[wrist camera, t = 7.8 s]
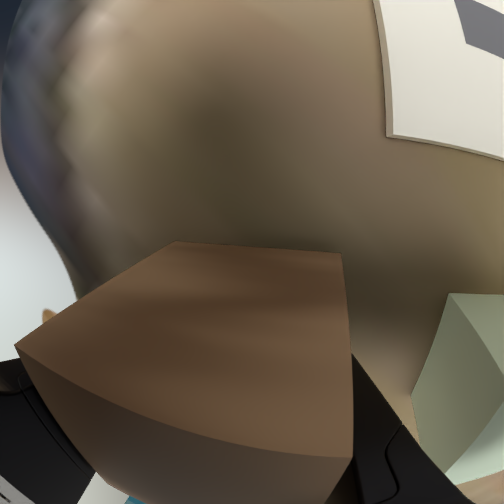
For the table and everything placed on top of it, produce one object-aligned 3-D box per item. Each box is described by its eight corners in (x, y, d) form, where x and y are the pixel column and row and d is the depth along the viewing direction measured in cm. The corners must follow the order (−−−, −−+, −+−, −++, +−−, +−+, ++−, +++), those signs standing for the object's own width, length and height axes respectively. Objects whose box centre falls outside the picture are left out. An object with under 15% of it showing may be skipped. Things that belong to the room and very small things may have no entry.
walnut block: (340, 253, 7) (352, 457, 2) (320, 386, 9) (294, 542, 4) (174, 241, 9) (14, 345, 3) (190, 364, 10) (107, 483, 5)
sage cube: (534, 294, 7) (596, 361, 2) (493, 385, 9) (523, 461, 4) (447, 292, 9) (511, 389, 4) (410, 394, 10) (425, 490, 5)
